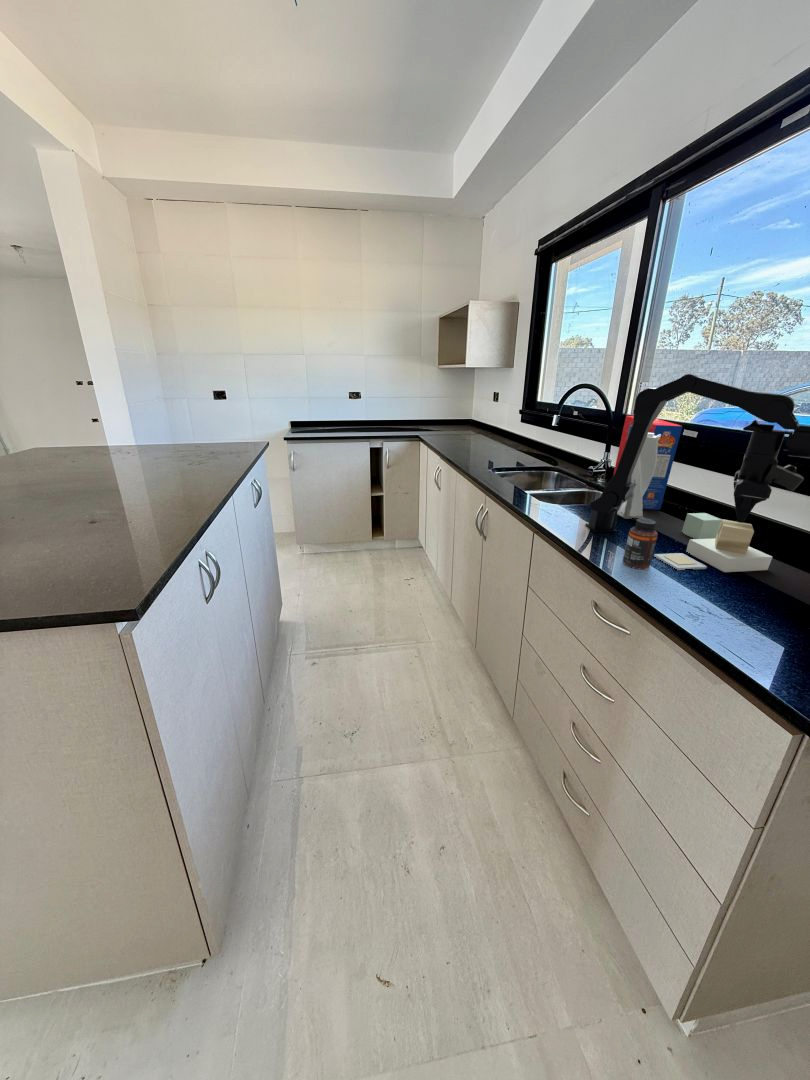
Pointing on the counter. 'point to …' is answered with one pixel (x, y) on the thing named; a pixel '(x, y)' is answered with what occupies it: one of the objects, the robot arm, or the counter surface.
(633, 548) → the supplement bottle
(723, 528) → the maple cube
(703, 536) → the sage cube
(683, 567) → the tile
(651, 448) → the skyscraper
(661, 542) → the counter surface
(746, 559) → the cream block
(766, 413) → the robot arm
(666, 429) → the red and blue box
